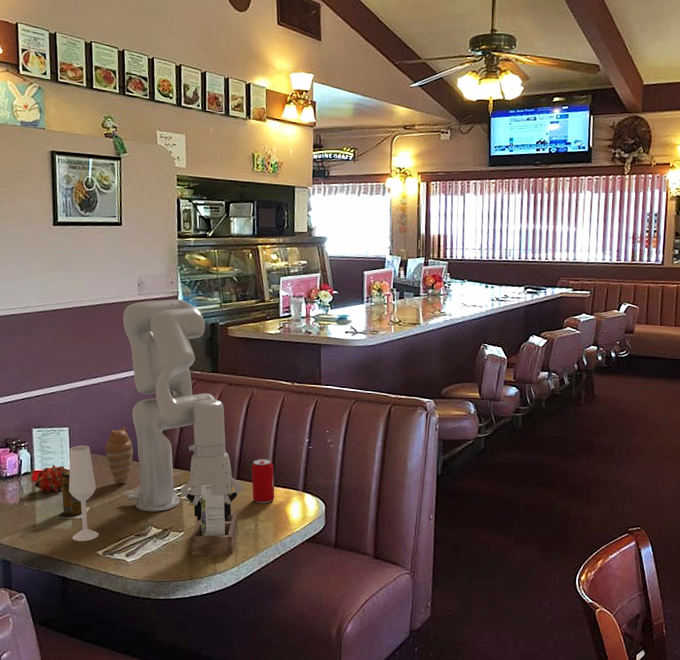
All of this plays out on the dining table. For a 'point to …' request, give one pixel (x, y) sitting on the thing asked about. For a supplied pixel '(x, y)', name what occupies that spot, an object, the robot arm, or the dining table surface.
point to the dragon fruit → (50, 479)
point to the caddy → (215, 539)
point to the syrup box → (212, 512)
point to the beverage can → (263, 481)
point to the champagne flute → (82, 485)
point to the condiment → (70, 501)
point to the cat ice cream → (119, 455)
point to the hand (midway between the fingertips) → (213, 517)
